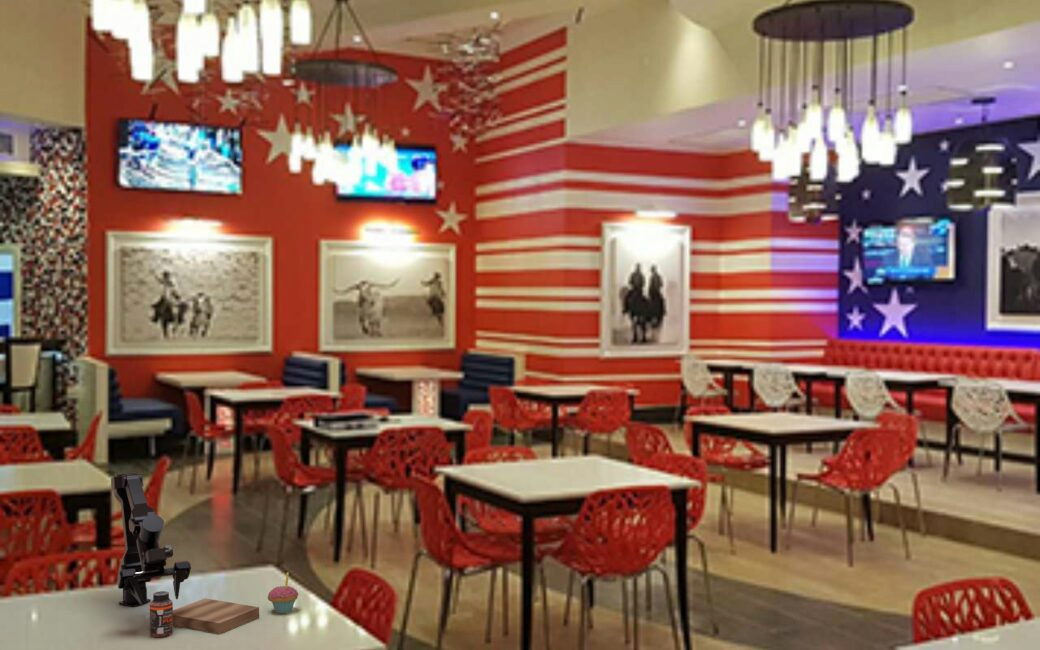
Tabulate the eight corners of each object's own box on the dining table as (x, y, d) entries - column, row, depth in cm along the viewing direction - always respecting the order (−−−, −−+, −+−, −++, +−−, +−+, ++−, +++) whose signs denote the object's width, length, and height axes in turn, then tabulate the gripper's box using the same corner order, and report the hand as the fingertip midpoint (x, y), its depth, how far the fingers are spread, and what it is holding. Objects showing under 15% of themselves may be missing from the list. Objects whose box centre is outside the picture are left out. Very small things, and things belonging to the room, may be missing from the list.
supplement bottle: (165, 638, 285) (165, 596, 285) (145, 637, 287) (144, 595, 286) (177, 631, 291) (176, 590, 291) (157, 630, 293) (156, 589, 292)
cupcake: (304, 608, 311) (303, 567, 311) (286, 617, 304) (285, 575, 303) (280, 605, 315) (279, 564, 315) (261, 613, 307) (261, 571, 307)
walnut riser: (164, 624, 298) (164, 613, 298) (205, 608, 312) (205, 598, 312) (219, 634, 289) (219, 623, 289) (259, 617, 303) (259, 607, 303)
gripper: (118, 540, 289) (127, 590, 280) (188, 531, 299) (200, 579, 289) (113, 563, 296) (122, 612, 287) (182, 554, 306) (193, 601, 296)
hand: (159, 601), depth 290 cm, fingers open, 9 cm apart
